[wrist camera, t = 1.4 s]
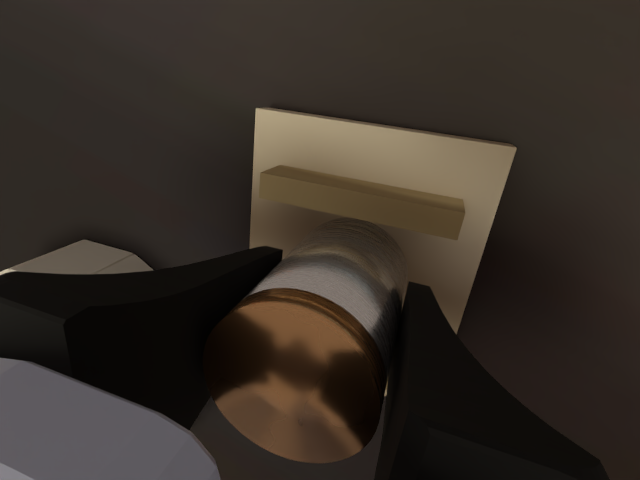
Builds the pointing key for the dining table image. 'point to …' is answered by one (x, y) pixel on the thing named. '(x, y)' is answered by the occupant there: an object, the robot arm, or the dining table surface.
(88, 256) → the cup
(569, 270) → the dining table surface
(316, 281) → the cylinder
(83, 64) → the dining table surface
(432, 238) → the checker cradle
